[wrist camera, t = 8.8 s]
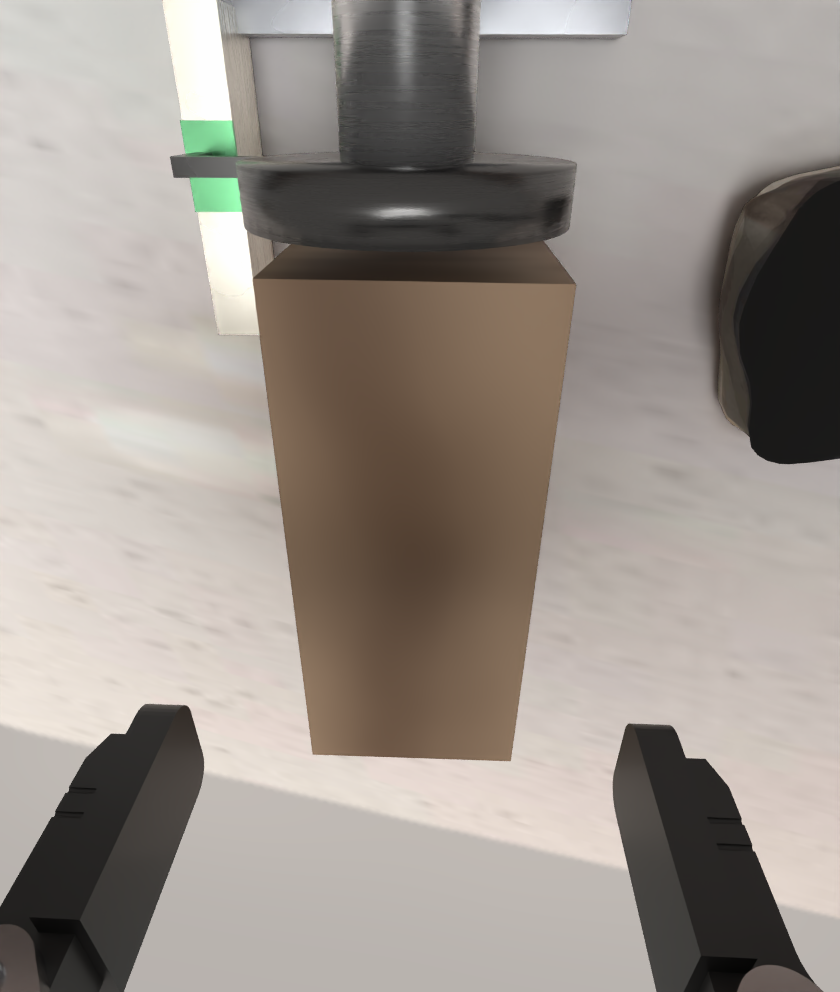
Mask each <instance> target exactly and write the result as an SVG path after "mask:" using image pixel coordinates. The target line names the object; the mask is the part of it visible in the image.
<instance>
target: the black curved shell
mask: <svg viewBox="0 0 840 992" xmlns="http://www.w3.org/2000/svg"><path fill="white" fill-rule="evenodd" d="M719 334H720V351H721V354H720V363H719V373H718V400H719V403H720V405H721V407H722V410H723V412H724V415H725V417H726V418H727V419H728V421H729V422H730V423H731V424H732V425H734V426H736V427H737V428H739V429H740V430H742V431H743V432H745V433H746V434H747V435H748V436H749V437H750V442H751V447H752V449H753V450H754V451H755V452H756V453H757V455H759V456H760V457H762V458H764V459H765V460H767V461H771V462H775V463H779V464H797V463H809V462H817V461H825V460H833V459H840V166H837V167H832V168H827V169H821V170H816V171H811V172H806V173H802V174H797V175H793V176H790V177H788V178H785V179H782V180H779V181H776V182H773V183H771V184H770V185H768V186H767V187H766V188H764V189H763V190H762V191H761V192H760V193H759V194H758V195H757V196H756V197H754V198H752V199H751V200H750V201H749V202H748V203H747V204H745V205H744V207H743V210H742V212H741V214H740V217H739V219H738V222H737V224H736V226H735V229H734V233H733V236H732V240H731V244H730V249H729V254H728V259H727V265H726V270H725V275H724V280H723V285H722V290H721V296H720V302H719Z"/></svg>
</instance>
